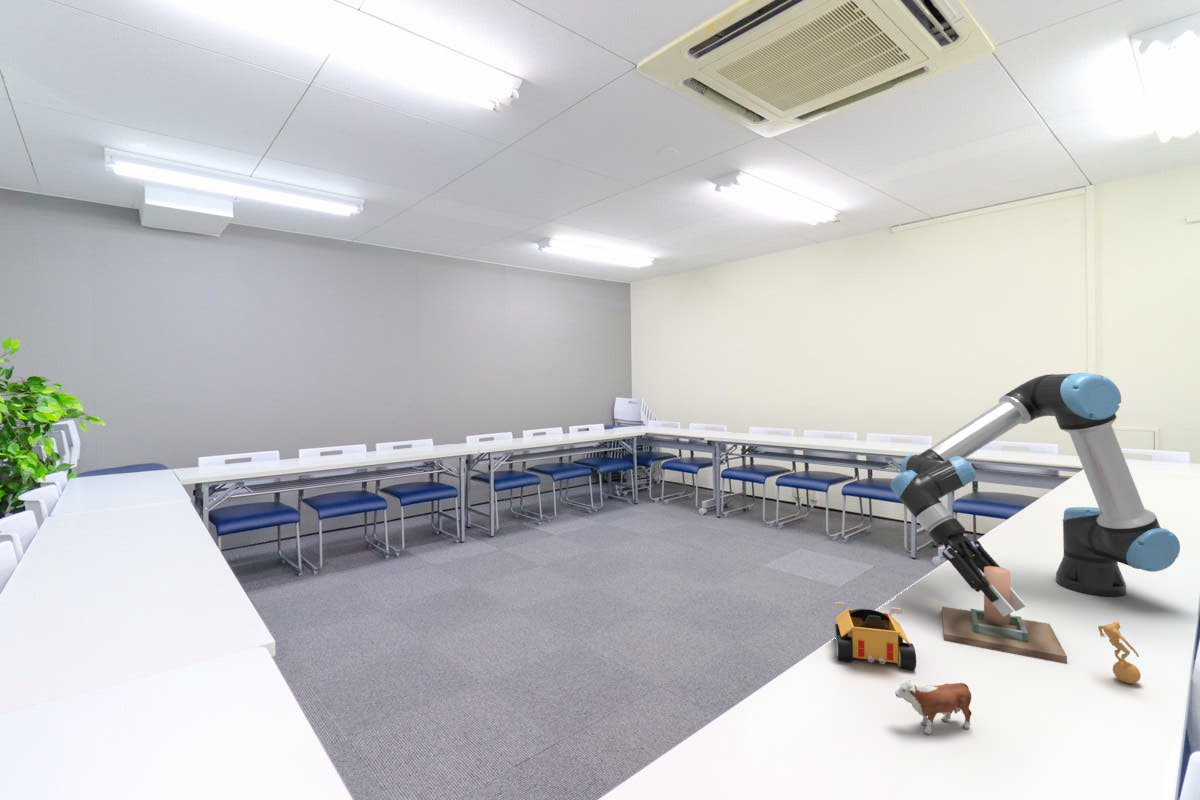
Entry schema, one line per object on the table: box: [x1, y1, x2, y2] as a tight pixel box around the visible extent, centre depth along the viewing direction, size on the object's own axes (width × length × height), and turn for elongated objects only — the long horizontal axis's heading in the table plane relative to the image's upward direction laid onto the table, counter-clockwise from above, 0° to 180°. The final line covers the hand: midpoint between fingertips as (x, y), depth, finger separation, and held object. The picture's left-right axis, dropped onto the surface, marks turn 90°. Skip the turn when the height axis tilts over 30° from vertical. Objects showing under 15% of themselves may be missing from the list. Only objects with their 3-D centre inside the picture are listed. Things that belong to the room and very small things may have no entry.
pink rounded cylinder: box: [983, 566, 1011, 624], centre depth 127 cm, size 5×5×12 cm
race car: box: [834, 601, 917, 671], centre depth 119 cm, size 15×15×11 cm
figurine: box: [1097, 621, 1142, 684], centre depth 107 cm, size 8×6×12 cm
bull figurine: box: [894, 679, 972, 736], centre depth 94 cm, size 4×13×8 cm, turn 95°
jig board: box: [941, 606, 1068, 664], centre depth 127 cm, size 22×18×4 cm
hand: (1015, 610), depth 124 cm, fingers closed on pink rounded cylinder, 5 cm apart
